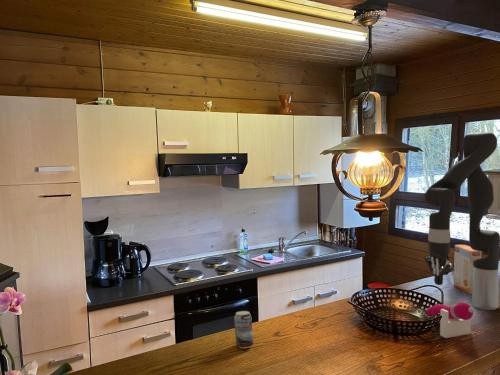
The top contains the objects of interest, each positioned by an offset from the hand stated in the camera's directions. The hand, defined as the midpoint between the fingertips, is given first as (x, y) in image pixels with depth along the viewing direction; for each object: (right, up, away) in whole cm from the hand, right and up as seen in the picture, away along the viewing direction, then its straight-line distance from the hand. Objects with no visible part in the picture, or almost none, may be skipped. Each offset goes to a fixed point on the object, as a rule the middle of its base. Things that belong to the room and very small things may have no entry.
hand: (438, 284), depth 146 cm
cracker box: (+33, -13, +39) cm, 53 cm away
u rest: (+3, -17, -7) cm, 18 cm away
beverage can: (-75, -19, -12) cm, 78 cm away
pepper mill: (0, -13, +4) cm, 14 cm away
